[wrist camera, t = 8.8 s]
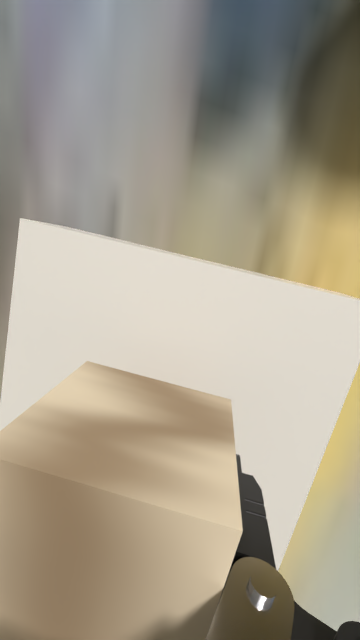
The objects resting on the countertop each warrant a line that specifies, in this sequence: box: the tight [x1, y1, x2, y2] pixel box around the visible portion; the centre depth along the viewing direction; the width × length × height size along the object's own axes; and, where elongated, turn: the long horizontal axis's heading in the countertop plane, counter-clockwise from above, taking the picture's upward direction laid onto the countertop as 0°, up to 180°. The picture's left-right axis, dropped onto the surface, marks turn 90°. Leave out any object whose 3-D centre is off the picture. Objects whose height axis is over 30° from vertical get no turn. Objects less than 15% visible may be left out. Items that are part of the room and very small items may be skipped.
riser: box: [0, 218, 360, 571], centre depth 15 cm, size 14×13×4 cm
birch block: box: [0, 361, 243, 640], centre depth 8 cm, size 5×5×5 cm
